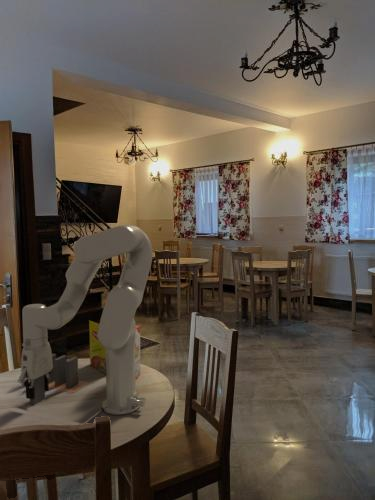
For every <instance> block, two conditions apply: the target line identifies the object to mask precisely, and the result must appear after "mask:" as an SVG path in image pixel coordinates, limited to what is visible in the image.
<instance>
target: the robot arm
mask: <svg viewBox="0 0 375 500" xmlns="http://www.w3.org/2000/svg"><path fill="white" fill-rule="evenodd" d="M125 254H126V257H125V258H126V259H125V261H124V263H123V266H122V270H121V273H120V278H119V280H118V283H117V285H115V286H114V287H113V288H112V289H111V290H110V291H109V293H108V295H107V296H106V297H107V298H106V300H105V302H104V303H105V304H104V305H103V310H102V313H101V317H100V320H99V323H98V324H99V327H98V332H97V336H98V340H99V342H100V344H101V345H102V346H103V347H104V348H106V373H105V378H106V380H105V381H106V383H105V384H106V388H105V389H106V399H104V400H103V401H102V404H101V406H102V407H101V409H102V411H104V412H105V413H106V414H110V415H114V416H115V415H116V416H118V415H119V416H121V415H127V414H130V413H133V412H135V411H137V410H139V408H140V407H142V408H145V407H146V397H143V396H140V395H139V390H136V388H137V387H136V385H137V384H136V382H137V380H136V381H135V339H136V325H137V324H136V320H135V314H136V312H137V309H138V308H139V306H140V305H141V303H142V302H143V297H144V292H145V289H146V285H147V283H148V278H149V274H150V269H151V267H152V262H153V255H154V253H153V244H152V243H151V240H150V238H149V236H148V235H147V234H146V233H145V232H144V231H143V230H142V228H140V227H138V226H136V225H134V224H133V225H132V224H122V225H117V226H114V227H110V228H108V229H105V230H102V231H98V232H96V233H95V232H94V233H91V234H88V235H84V236H82V237H80V238H78V239H77V240H76V242H75V243H74V245H73V255H74V258H73V259H72V260H71V261H72V262H71V263H70V265H69V267H68V268H67V270H66V272H65V278H66V286H65V288H64V290H63V293H62V295H61V296H60V298H59V300H58V301H57V302H56V303H54V304H52V305H50V306H46V305H45V304H44V303H43V304H42V303H32V304H31V303H30V304H27V305H25V306H23V308H22V310H21V312H22V313H21V314H22V339H23V340H22V341H23V342H22V344H21V346H22V347H23V348H22V351H21V360H20V361H21V362H20V368H21V369H20V375H19V377H18V379H17V383H19V384H21V385H22V386H23V387H24V388H25V398H26V399H29V400H30V399H35V388H34V387H33V384H34V379H37V378H39V377H41V376H43V375H44V382H45V392H49V390H50V388H49V385H48V379H49V378H50V376H49V375H50V373H51V370H52V369H53V367H54V364H53V361H52V354H53V353H52V348H51V344H50V342H49V341H48V340H49V339H48V338H49V336H48V330H54V331H55V330H58V329H60V328H62V327H63V326H65V325H66V324H67V323H69V322H70V321H71V320H73V319H74V317H75V316H76V314H77V313H78V311H79V309H80V307H81V306H82V304H83V302H84V300H85V298H86V295H87V293H88V291H89V288H90V286H91V283H92V281H93V279H94V278H95V276H96V274H97V273H98V270H99V269H100V267H101V265H102V264H103V262H104V261H105V260H107V259H111V258H114V257H117V256H121V255H125ZM29 380H30V383H29Z"/></svg>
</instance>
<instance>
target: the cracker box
mask: <svg viewBox="0 0 375 500" xmlns="http://www.w3.org/2000/svg"><path fill="white" fill-rule="evenodd" d="M140 376H141V325H137V324H136V339H135V381H136V382H137V380H138V379H139V377H140Z"/></svg>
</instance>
